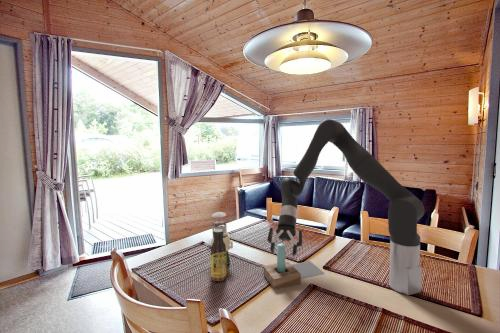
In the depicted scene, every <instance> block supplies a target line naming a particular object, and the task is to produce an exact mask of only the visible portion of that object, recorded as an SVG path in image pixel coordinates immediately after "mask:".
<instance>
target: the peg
mask: <svg viewBox="0 0 500 333" xmlns="http://www.w3.org/2000/svg"><path fill="white" fill-rule="evenodd" d="M285 262H286V244H285V243H281V242H280V243H276V264H277V273H278V274H279V273H284V272H286V270H285Z"/></svg>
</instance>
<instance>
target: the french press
mask: <svg viewBox="0 0 500 333" xmlns="http://www.w3.org/2000/svg"><path fill="white" fill-rule="evenodd" d="M220 197H221V196H220V195H219V194H217V195H216V198H220ZM219 202H220V201H219V199H217V203H218V204H217V205H218V210H220V205H219V204H220V203H219ZM226 216H227V214H226V213H225V212H223V211H217V212H214V213H213V214H211V217H210V218H209V222H208V224H209V226H211V227H210V230H211V229H212V231H213V230H215V229H222V230H223V233H227V232H228V231H227V230H228V228H227V221H225V220H223V219H221V218H225V217H226ZM215 218H216V220H215ZM220 219H221V220H220ZM212 220H214V221H212ZM227 234H228V233H227ZM212 238H214V235H213V234H212ZM212 238H211V239H210V241H212Z"/></svg>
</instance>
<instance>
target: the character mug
mask: <svg viewBox="0 0 500 333" xmlns="http://www.w3.org/2000/svg"><path fill="white" fill-rule="evenodd" d="M211 239H212V240H211V245H212V244H213V242H214V238H213V237H212V238H211ZM223 242H224V243H225V245H226V266H228V265H229V264H230V262H231V258H230V254H229V251H230V249H233V247H234V243H233V240H231V236H230V234H229V233H223Z"/></svg>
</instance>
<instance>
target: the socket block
mask: <svg viewBox="0 0 500 333" xmlns="http://www.w3.org/2000/svg"><path fill="white" fill-rule="evenodd" d="M262 267H263V276H264V277H265V279H266V278H267V279H266V281H268V283H269V282H270V283H269V284H270V285H271V286H270V287H272V289H274V290H276V289H280V288H286V287H290V286H294V285H299V284H302V279H301V274H300V273H299V272H298V271H297V270H296V269H295V268H294V267H293V266H292V264H291V262H289V261H285V270H286V272H284V273H279V274H278V273H277V263H273V264H267V265H263V266H262Z"/></svg>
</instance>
